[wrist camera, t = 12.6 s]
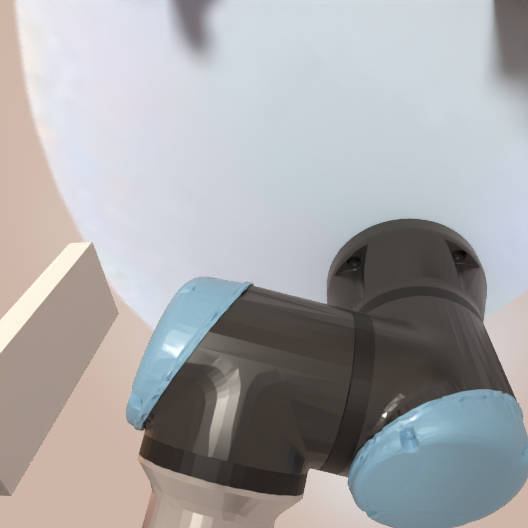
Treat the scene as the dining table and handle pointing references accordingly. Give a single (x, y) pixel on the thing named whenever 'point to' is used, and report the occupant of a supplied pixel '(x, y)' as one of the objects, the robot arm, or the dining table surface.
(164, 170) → the dining table surface
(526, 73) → the dining table surface
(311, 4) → the dining table surface
